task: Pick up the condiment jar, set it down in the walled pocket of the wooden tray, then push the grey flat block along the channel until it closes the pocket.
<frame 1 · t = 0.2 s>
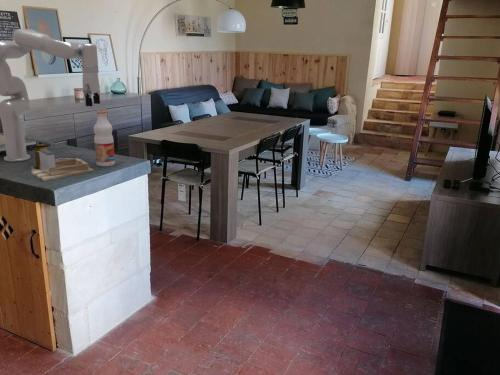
hand: (93, 104, 218), 31 cm above the countertop, tool pointing down, fingers open, 9 cm apart
condiment: (41, 168, 216), on the countertop
wooden tray: (62, 172, 210), on the countertop
fruit juice: (105, 164, 227), on the countertop
grey flat block: (47, 161, 204), point 6 cm above the countertop, slide at 0.0 cm
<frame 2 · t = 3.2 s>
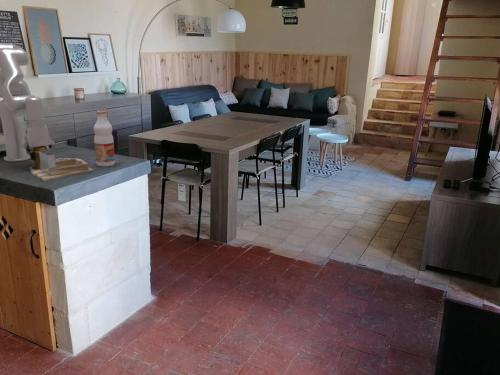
hand: (40, 158, 215), 5 cm above the countertop, tool pointing down, fingers closed on condiment, 6 cm apart
condiment: (39, 168, 216), on the countertop, touching gripper
everything else where it was.
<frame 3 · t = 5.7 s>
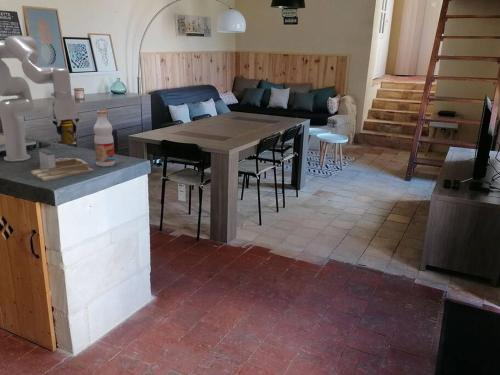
hand: (66, 133, 208), 19 cm above the countertop, tool pointing down, fingers closed on condiment, 6 cm apart
condiment: (66, 143, 209), point 14 cm above the countertop, touching gripper
everything else where it was.
when the fingers open (7 cm above the countertop, at t = 8.0 s): condiment stays where it is, resting on wooden tray.
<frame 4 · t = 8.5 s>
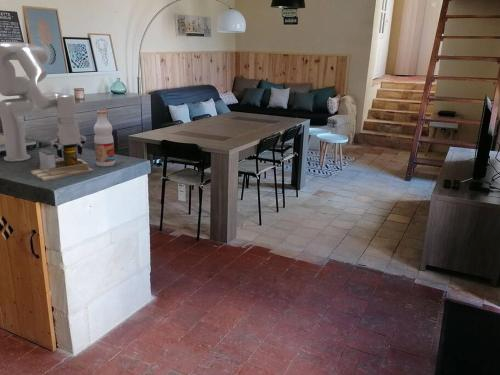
hand: (70, 155, 211), 8 cm above the countertop, tool pointing down, fingers open, 9 cm apart
condiment: (69, 169, 213), point 1 cm above the countertop, touching wooden tray
everything else where it was.
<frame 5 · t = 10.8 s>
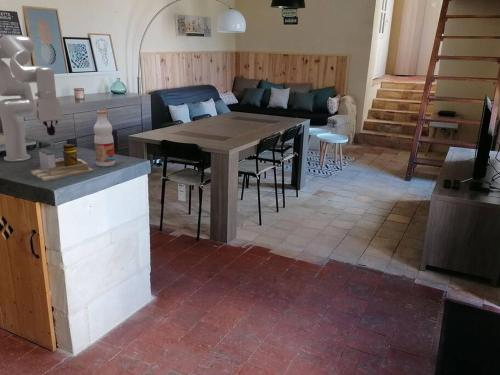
hand: (51, 134, 202), 19 cm above the countertop, tool pointing down, fingers closed
nothing on the countertop moved.
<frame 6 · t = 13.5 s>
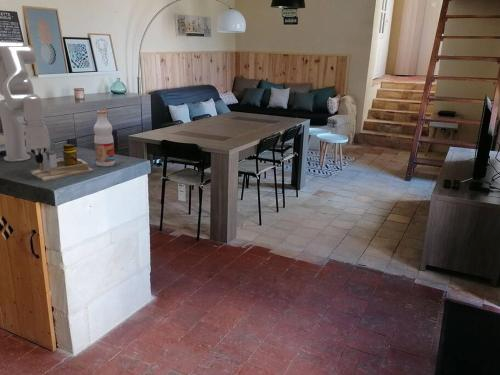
hand: (39, 162, 202), 7 cm above the countertop, tool pointing down, fingers closed
grey flat block: (49, 161, 204), point 6 cm above the countertop, slide at 0.7 cm, touching gripper
everything else where it was.
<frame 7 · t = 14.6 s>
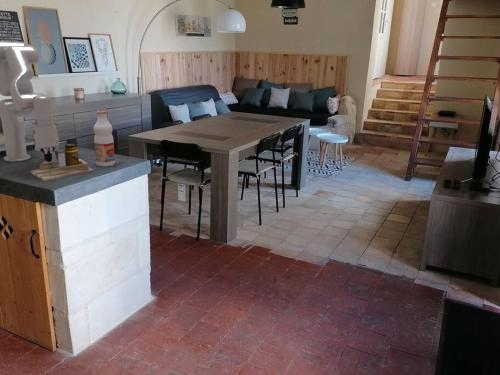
hand: (48, 161, 204), 7 cm above the countertop, tool pointing down, fingers closed
condiment: (70, 168, 213), point 1 cm above the countertop, touching grey flat block, wooden tray
grey flat block: (57, 160, 207), point 6 cm above the countertop, slide at 4.7 cm, touching condiment, gripper
everything else where it was.
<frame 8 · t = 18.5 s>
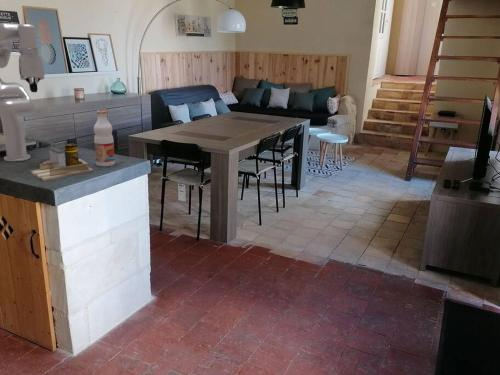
hand: (34, 92, 208), 37 cm above the countertop, tool pointing down, fingers closed
condiment: (70, 168, 213), point 1 cm above the countertop, touching wooden tray
grey flat block: (57, 160, 207), point 6 cm above the countertop, slide at 4.7 cm
everything else where it was.
at the end: condiment inside the target area on the wooden tray (0.5 cm from its centre), point 1.0 cm above the wooden tray's base; condiment tilted 0°; grey flat block slide at 4.7 cm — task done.
